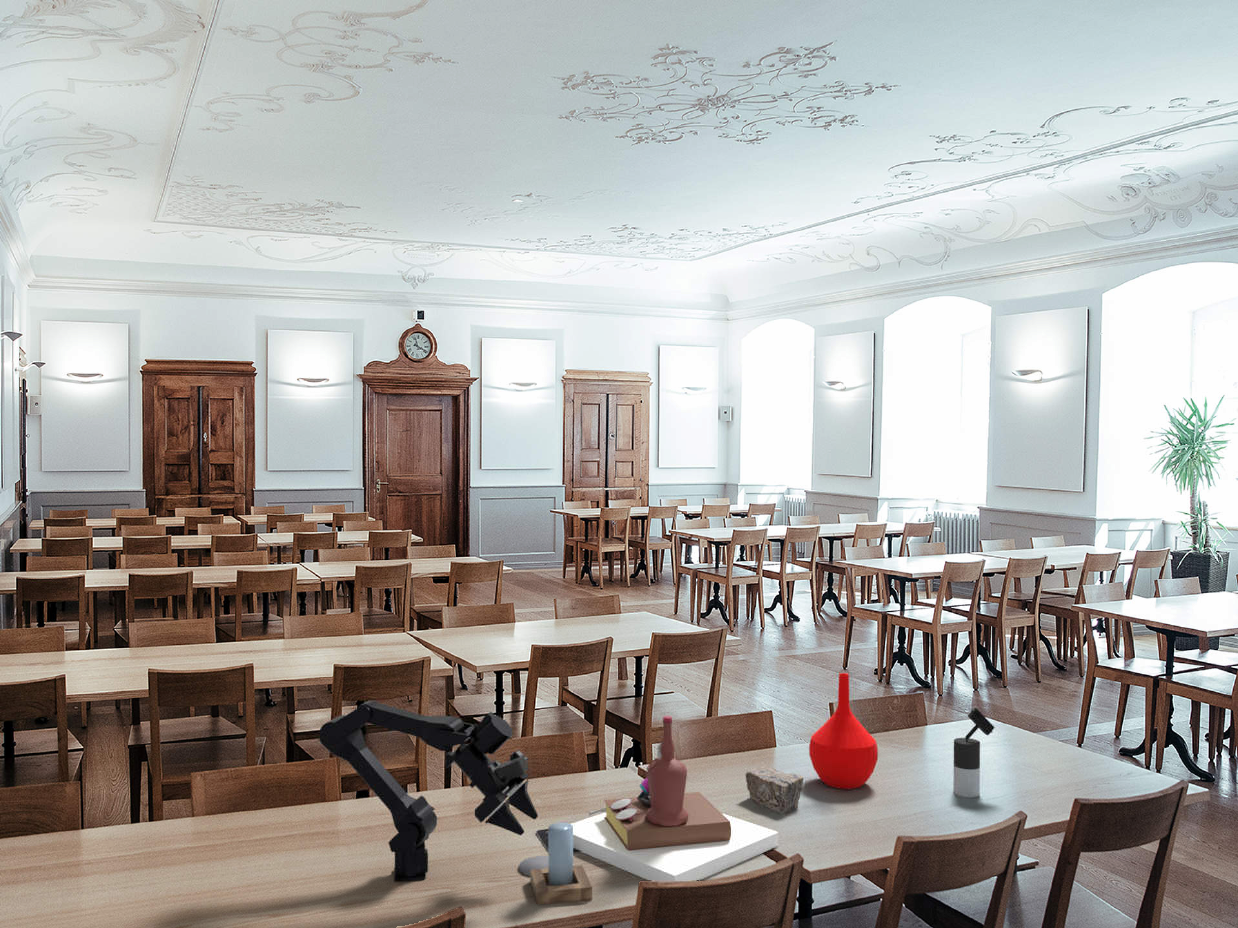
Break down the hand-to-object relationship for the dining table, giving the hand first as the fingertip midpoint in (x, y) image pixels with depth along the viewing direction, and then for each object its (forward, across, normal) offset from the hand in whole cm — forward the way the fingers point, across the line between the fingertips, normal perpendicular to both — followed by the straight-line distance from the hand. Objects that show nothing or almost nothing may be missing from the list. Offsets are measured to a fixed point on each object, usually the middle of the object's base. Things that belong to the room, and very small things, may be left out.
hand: (529, 825), depth 209 cm
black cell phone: (+9, +25, +10) cm, 28 cm away
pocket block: (+14, 0, +4) cm, 14 cm away
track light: (+78, +84, -59) cm, 129 cm away
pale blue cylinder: (+14, 0, +4) cm, 14 cm away
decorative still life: (+25, +31, -6) cm, 40 cm away
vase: (+54, +84, -35) cm, 105 cm away
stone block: (+42, +63, -23) cm, 79 cm away
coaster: (+9, +10, +9) cm, 16 cm away
